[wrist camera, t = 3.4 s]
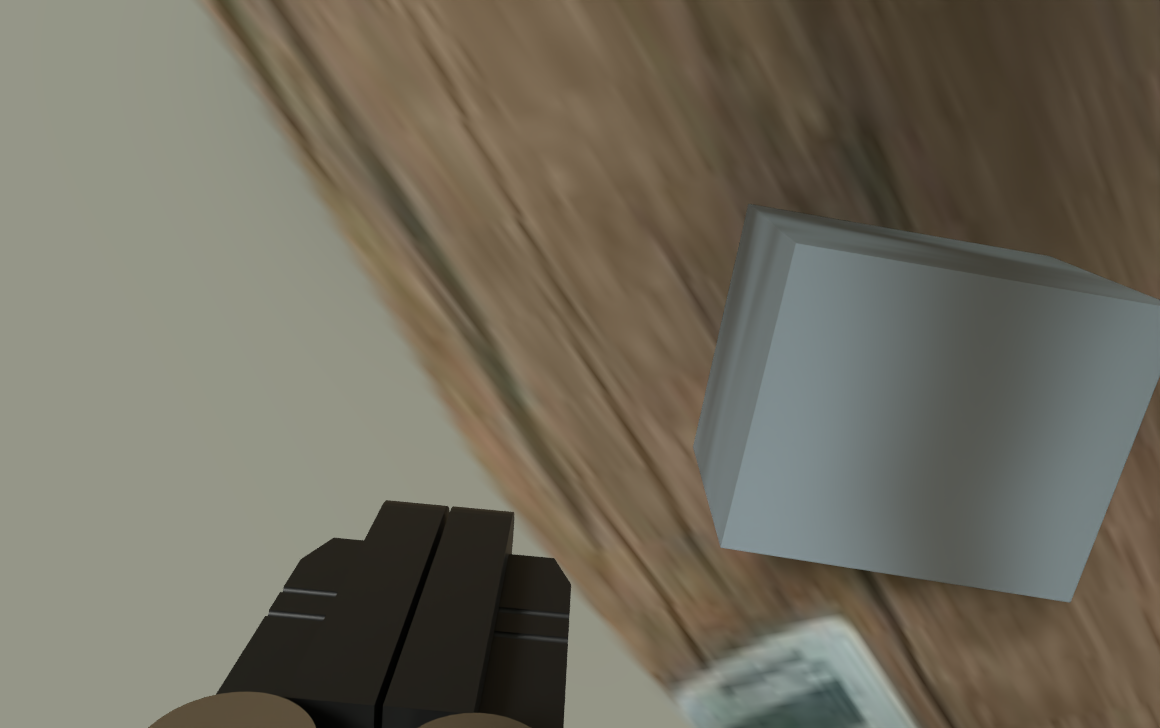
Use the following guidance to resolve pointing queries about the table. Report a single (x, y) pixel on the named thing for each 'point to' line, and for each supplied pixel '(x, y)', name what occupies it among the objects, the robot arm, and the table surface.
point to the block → (920, 404)
